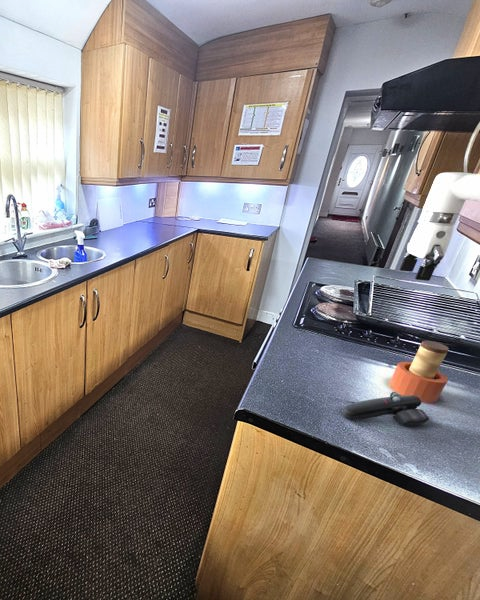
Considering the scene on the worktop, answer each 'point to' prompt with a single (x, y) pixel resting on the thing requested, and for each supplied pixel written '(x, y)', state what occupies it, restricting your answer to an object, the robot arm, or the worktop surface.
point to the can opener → (389, 409)
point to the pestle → (428, 359)
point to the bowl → (417, 383)
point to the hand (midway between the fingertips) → (413, 275)
